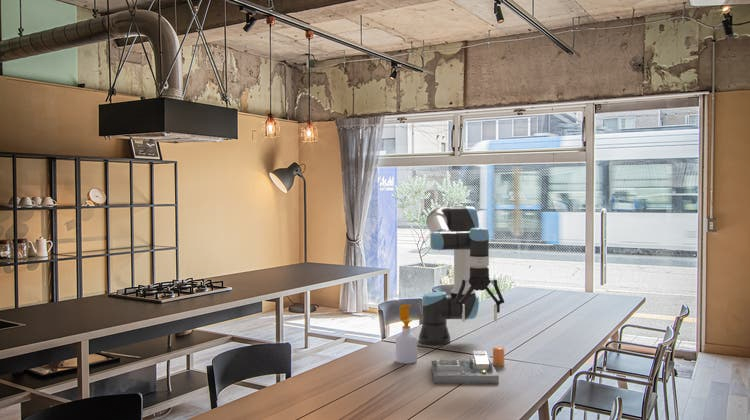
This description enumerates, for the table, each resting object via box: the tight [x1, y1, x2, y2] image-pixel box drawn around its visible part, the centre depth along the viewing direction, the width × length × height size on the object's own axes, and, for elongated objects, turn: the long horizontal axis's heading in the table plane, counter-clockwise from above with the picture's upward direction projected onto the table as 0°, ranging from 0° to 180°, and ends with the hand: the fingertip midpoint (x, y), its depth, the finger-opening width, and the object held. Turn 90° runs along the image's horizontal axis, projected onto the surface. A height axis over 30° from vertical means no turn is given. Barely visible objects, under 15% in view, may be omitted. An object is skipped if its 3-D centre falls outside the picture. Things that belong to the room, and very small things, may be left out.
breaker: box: [472, 350, 489, 368], centre depth 242 cm, size 9×5×2 cm, turn 178°
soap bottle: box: [395, 304, 418, 365], centre depth 262 cm, size 9×9×25 cm
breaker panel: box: [430, 355, 500, 385], centre depth 241 cm, size 20×24×6 cm
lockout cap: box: [492, 346, 505, 367], centre depth 255 cm, size 5×5×7 cm
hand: (479, 320), depth 245 cm, fingers open, 12 cm apart
